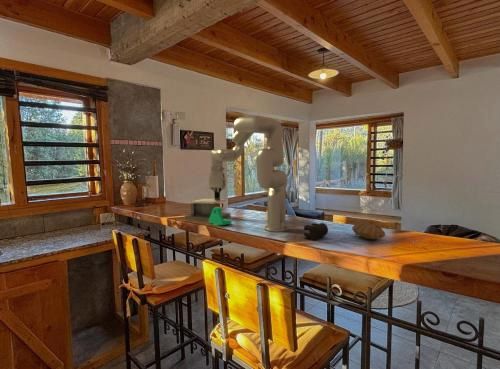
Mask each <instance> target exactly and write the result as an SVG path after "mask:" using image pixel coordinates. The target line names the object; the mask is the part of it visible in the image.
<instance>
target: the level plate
mask: <svg viewBox="0 0 500 369" xmlns="http://www.w3.org/2000/svg"><path fill="white" fill-rule="evenodd" d="M223 202H226V198H221V197H220V198H218V199H215V197H213V198H200V199H195V200H191V202H190V204H191V203H209V204H214V203H215V204H217V203H223Z"/></svg>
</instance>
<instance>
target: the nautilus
mask: <svg viewBox="0 0 500 369" xmlns="http://www.w3.org/2000/svg"><path fill="white" fill-rule="evenodd" d="M351 229H352V231H353V233H354V234H355V235H357V236H359V237H360V238H363V239H364V240H374V241H377V240H378V239H382V238H384V237H385V236H386V232H385V231H384V230H383V228H381V227H380V226H379V224H378V223H377V222H374V221H370V220H363V221H358V222H356V223H355V224H354V225H353V226H352V227H351Z"/></svg>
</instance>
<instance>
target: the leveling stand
mask: <svg viewBox="0 0 500 369" xmlns="http://www.w3.org/2000/svg"><path fill="white" fill-rule="evenodd" d="M213 208H216V203H214V204H209V203H191V202H190V214H188V215H187V214H186V215H184V220H192V221H200V220H201V222H209V217H210V215H211V213H212V210H213ZM221 215H222V218H223V219H226V218H230V217H231V213H230V212H222V213H221Z"/></svg>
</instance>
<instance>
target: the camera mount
mask: <svg viewBox="0 0 500 369" xmlns="http://www.w3.org/2000/svg"><path fill="white" fill-rule="evenodd" d="M221 213H223V209H222V207H220V206H217V207H216V206H215V208H213V210H212V213H211V215H210V217H209V221H208V223H210V224H211V223H212V225H213V226H217V225H218V226H217V227H219V226H225V225H229V224H232V220H231V219H226V218H224V219H223V218H222V215H221Z"/></svg>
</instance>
